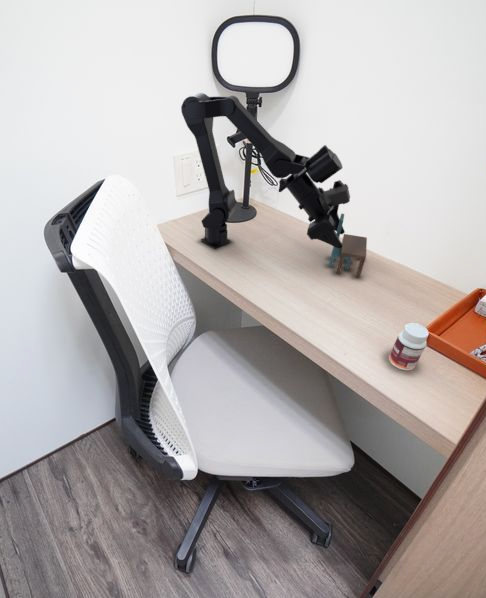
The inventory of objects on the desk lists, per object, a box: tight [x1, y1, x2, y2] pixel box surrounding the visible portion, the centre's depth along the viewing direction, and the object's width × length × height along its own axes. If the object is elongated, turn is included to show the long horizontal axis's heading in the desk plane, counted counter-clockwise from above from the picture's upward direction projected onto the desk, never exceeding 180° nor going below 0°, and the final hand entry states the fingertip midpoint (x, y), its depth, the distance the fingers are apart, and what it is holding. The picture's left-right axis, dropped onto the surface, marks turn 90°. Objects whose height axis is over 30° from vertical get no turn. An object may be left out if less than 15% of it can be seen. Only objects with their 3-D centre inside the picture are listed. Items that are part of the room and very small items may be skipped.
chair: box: [328, 213, 352, 271], centre depth 95 cm, size 5×5×14 cm
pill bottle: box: [388, 322, 430, 371], centre depth 67 cm, size 5×5×8 cm
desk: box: [335, 233, 368, 279], centre depth 96 cm, size 6×11×6 cm, turn 160°
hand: (342, 240), depth 95 cm, fingers open, 8 cm apart
